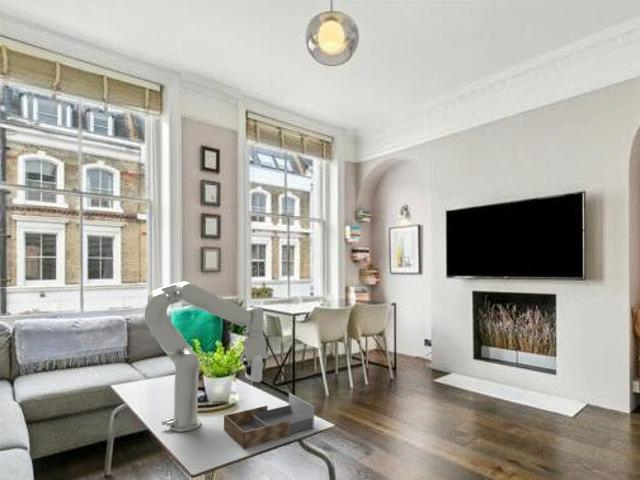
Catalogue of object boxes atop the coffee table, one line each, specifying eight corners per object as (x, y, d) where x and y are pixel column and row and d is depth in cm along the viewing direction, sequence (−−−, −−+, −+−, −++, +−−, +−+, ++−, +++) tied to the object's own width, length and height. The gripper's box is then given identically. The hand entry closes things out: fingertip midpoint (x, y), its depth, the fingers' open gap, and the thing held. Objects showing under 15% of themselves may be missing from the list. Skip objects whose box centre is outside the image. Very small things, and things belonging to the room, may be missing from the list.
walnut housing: (243, 449, 152) (244, 432, 152) (223, 430, 168) (224, 415, 168) (289, 435, 163) (289, 420, 163) (266, 419, 180) (266, 405, 180)
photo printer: (243, 377, 189) (244, 351, 190) (251, 376, 192) (252, 349, 192) (255, 383, 181) (255, 355, 182) (263, 381, 184) (264, 354, 184)
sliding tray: (272, 440, 159) (272, 416, 159) (250, 422, 175) (250, 401, 175) (314, 428, 170) (314, 406, 170) (289, 412, 186) (290, 393, 187)
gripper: (241, 337, 179) (239, 378, 179) (274, 333, 189) (273, 373, 188) (234, 334, 186) (233, 374, 185) (267, 331, 195) (266, 369, 194)
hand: (253, 373), depth 186 cm, fingers closed on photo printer, 4 cm apart
